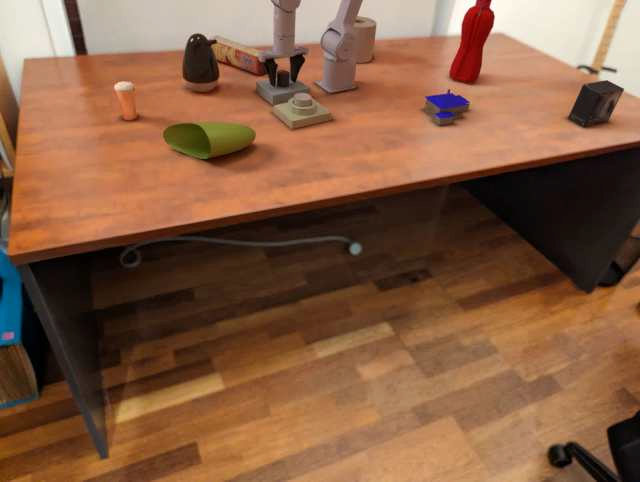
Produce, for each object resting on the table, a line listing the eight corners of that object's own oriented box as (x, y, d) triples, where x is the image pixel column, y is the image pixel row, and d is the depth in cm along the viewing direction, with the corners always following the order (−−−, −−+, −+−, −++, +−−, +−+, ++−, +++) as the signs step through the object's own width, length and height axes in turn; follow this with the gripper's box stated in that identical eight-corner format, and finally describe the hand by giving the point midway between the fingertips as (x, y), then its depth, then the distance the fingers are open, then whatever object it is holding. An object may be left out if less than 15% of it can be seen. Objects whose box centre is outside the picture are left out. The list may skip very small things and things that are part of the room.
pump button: (305, 98, 133) (305, 91, 131) (314, 105, 130) (315, 98, 129) (290, 102, 131) (290, 94, 129) (299, 109, 128) (299, 101, 126)
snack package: (271, 71, 155) (271, 49, 150) (257, 77, 150) (257, 55, 146) (220, 53, 163) (219, 32, 158) (206, 59, 158) (204, 37, 154)
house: (480, 120, 139) (486, 101, 135) (438, 126, 134) (443, 107, 130) (457, 103, 146) (462, 84, 143) (416, 108, 141) (420, 89, 138)
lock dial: (285, 81, 142) (285, 68, 140) (291, 86, 140) (292, 72, 137) (274, 83, 140) (274, 70, 138) (280, 88, 138) (280, 74, 136)
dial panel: (292, 84, 148) (292, 74, 146) (309, 98, 142) (310, 87, 140) (256, 91, 142) (256, 81, 140) (272, 105, 136) (272, 94, 134)
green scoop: (177, 133, 102) (265, 123, 111) (161, 119, 111) (243, 111, 121) (180, 169, 106) (265, 156, 115) (165, 152, 115) (244, 142, 124)
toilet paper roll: (339, 48, 175) (342, 14, 167) (373, 52, 174) (378, 18, 166) (335, 60, 165) (338, 24, 158) (371, 65, 165) (376, 29, 157)
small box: (584, 128, 139) (600, 93, 133) (566, 118, 144) (581, 83, 137) (609, 122, 143) (626, 88, 137) (590, 113, 148) (606, 79, 141)
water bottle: (445, 81, 158) (466, -3, 142) (451, 70, 166) (471, -11, 150) (474, 88, 156) (498, 3, 140) (479, 76, 164) (502, -5, 148)
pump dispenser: (213, 98, 137) (209, 42, 127) (178, 92, 138) (171, 37, 128) (226, 84, 145) (223, 30, 135) (192, 79, 146) (187, 25, 136)
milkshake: (145, 114, 127) (138, 76, 121) (132, 123, 123) (125, 84, 117) (129, 110, 128) (122, 73, 122) (116, 119, 124) (108, 80, 118)
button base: (311, 105, 138) (311, 91, 136) (330, 120, 132) (331, 106, 130) (273, 112, 133) (273, 98, 130) (291, 129, 127) (292, 114, 124)
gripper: (299, 26, 137) (297, 74, 146) (252, 32, 130) (253, 81, 139) (313, 34, 132) (310, 83, 141) (265, 40, 126) (265, 91, 135)
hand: (283, 83), depth 140 cm, fingers open, 6 cm apart
